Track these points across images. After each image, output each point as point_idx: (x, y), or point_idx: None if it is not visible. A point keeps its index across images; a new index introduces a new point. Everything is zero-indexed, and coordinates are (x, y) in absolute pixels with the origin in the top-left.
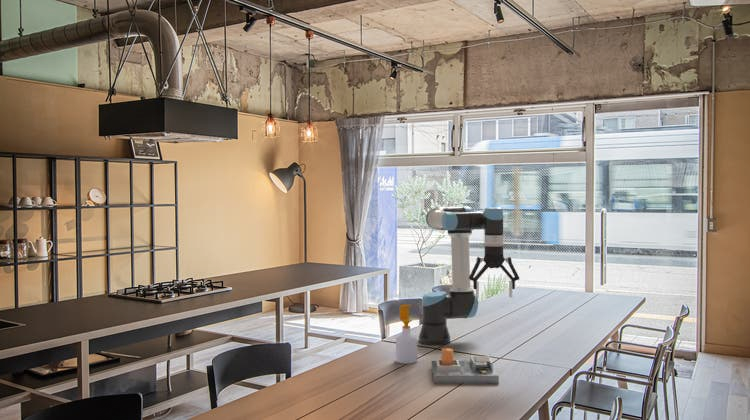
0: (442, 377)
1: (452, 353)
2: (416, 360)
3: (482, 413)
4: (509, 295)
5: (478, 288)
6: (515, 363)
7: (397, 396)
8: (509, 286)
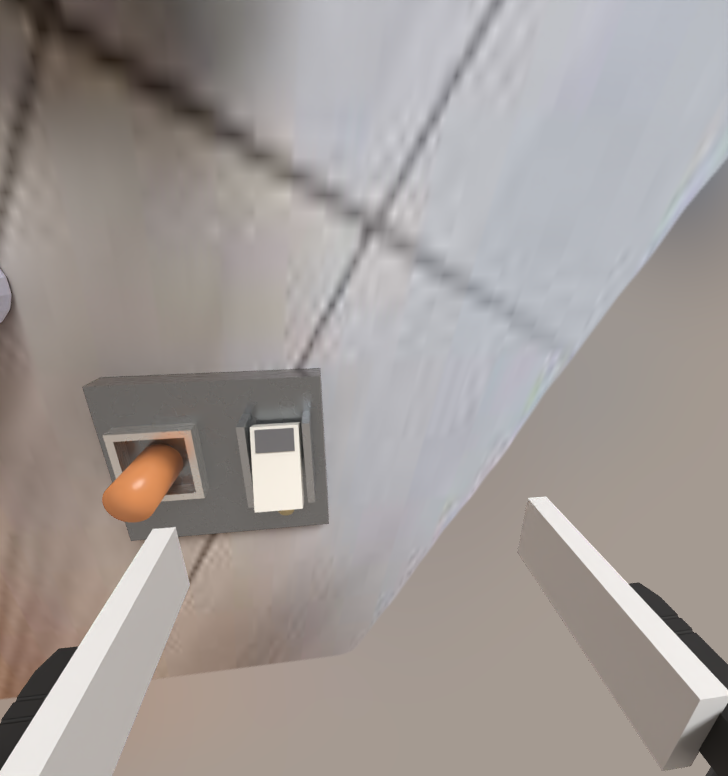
0: None
1: (158, 504)
2: (7, 300)
3: (274, 663)
4: (532, 518)
5: (137, 708)
6: (418, 308)
7: (61, 613)
8: (609, 612)
